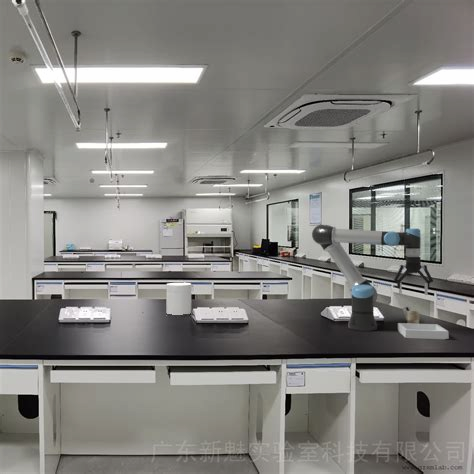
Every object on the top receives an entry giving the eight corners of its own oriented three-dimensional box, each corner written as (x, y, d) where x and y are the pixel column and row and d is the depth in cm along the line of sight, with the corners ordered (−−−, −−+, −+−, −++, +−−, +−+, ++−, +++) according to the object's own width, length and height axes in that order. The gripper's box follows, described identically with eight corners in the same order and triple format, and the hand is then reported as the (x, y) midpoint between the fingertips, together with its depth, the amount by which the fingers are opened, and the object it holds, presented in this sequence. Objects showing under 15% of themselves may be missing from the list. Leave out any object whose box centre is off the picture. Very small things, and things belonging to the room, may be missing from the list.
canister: (161, 315, 276) (161, 284, 276) (177, 311, 289) (177, 282, 290) (180, 317, 267) (180, 285, 268) (196, 314, 281) (196, 283, 281)
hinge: (419, 324, 248) (413, 307, 249) (411, 326, 249) (405, 310, 250) (414, 319, 264) (409, 303, 265) (407, 321, 265) (401, 306, 266)
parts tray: (405, 338, 213) (405, 330, 213) (397, 330, 231) (397, 323, 231) (448, 339, 210) (448, 331, 210) (437, 331, 228) (437, 324, 228)
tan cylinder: (409, 328, 236) (409, 312, 236) (407, 326, 241) (407, 310, 241) (419, 328, 235) (419, 312, 235) (416, 327, 240) (416, 311, 240)
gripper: (391, 256, 237) (391, 294, 236) (439, 256, 233) (439, 295, 233) (388, 255, 244) (388, 293, 244) (434, 256, 240) (434, 294, 240)
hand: (413, 294), depth 238 cm, fingers open, 13 cm apart
